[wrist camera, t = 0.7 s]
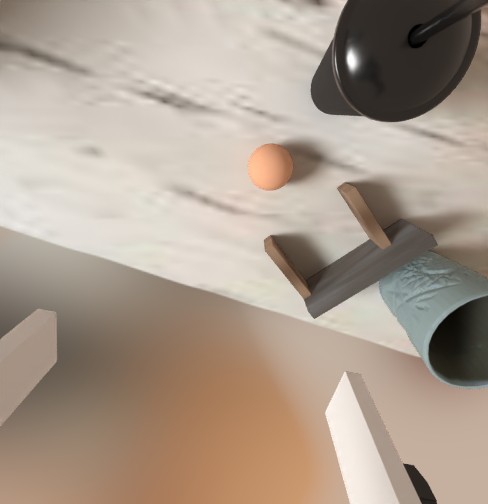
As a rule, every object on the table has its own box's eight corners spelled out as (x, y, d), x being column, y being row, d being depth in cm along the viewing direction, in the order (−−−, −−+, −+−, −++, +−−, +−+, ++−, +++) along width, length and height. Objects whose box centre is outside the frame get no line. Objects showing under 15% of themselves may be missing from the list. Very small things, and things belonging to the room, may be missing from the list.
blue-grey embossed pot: (415, 326, 38) (484, 404, 27) (354, 293, 36) (400, 361, 25) (473, 266, 35) (579, 327, 23) (409, 226, 33) (490, 271, 22)
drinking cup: (385, 45, 27) (698, -172, 8) (363, 133, 29) (557, 124, 11) (304, 34, 26) (432, -213, 8) (290, 124, 29) (359, 99, 11)
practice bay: (263, 240, 34) (266, 260, 28) (369, 164, 31) (395, 170, 25) (304, 291, 36) (314, 318, 31) (406, 226, 33) (438, 244, 27)
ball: (239, 161, 31) (238, 165, 27) (273, 134, 30) (277, 133, 25) (264, 195, 32) (266, 203, 28) (298, 169, 31) (305, 174, 27)
